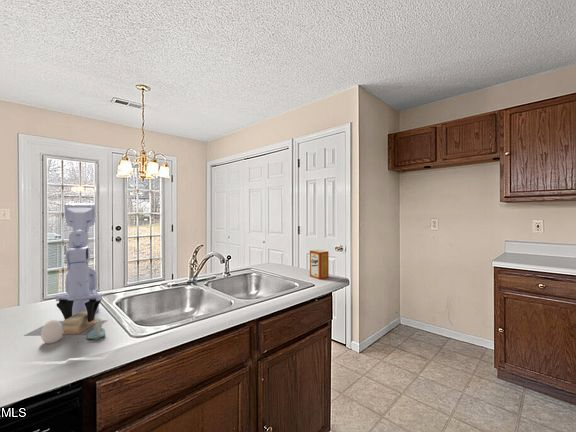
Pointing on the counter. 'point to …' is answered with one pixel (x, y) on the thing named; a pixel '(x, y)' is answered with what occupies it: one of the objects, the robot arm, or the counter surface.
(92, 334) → the pacifier
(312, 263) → the baking soda box
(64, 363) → the counter surface
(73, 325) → the tan wooden block
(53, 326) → the egg
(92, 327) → the rubber mat
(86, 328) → the terracotta strip
